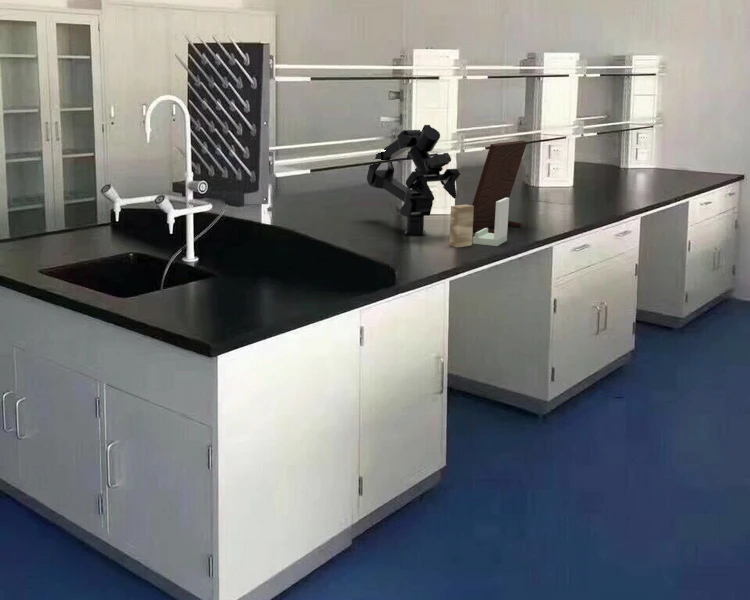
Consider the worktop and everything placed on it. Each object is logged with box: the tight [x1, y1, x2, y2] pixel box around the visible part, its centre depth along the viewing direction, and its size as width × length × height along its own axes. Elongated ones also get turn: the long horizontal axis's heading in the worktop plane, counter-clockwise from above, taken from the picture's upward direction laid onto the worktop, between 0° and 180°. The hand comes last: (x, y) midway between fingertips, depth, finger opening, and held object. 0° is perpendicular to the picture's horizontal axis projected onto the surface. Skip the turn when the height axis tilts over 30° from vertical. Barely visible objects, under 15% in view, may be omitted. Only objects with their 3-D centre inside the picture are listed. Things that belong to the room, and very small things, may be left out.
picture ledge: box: [472, 197, 510, 247], centre depth 289 cm, size 8×10×14 cm
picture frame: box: [472, 139, 528, 233], centre depth 309 cm, size 21×11×30 cm, turn 141°
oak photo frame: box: [448, 204, 474, 248], centre depth 283 cm, size 4×6×12 cm, turn 129°
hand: (444, 198), depth 286 cm, fingers open, 9 cm apart
